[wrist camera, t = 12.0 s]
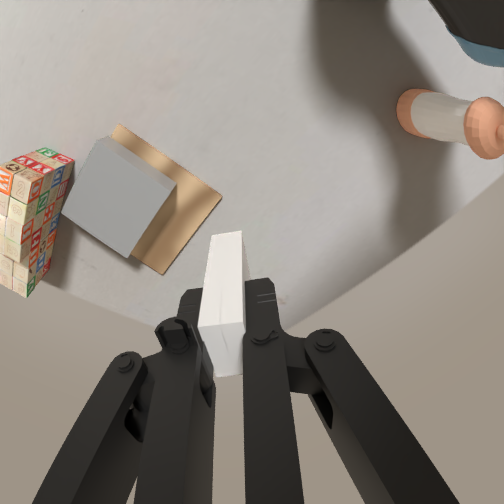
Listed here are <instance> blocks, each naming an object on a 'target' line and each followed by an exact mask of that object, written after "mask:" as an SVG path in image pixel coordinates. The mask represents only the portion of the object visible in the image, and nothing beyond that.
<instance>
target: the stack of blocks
mask: <svg viewBox="0 0 504 504" xmlns="http://www.w3.org/2000/svg"><path fill="white" fill-rule="evenodd" d="M73 164H74V160H73V159H71V158H68V157H66V156H64V155H62V154H59V153H56V152H54V151H52V150H50V149H47V148H42V149H39V150H36V151H35V152H31V153H29V154H26V155H24V156H20V157H18V158H15V159H12V160H11V161H9V162H6V163H4V164H2V165H0V283H1V284H2V285H4V286H6V287H7V288H9V289H11V290H13V291H15V292H16V293H18V294H20V295H22V296H24V297H26V298H27V297H28V296H29V294H30V293H31V292H32V291H33V289H34V288H35V286H36V285H37V283H38V282H39V281H40V280H41V279H42V277H43V276H44V275H45V274H46V272H47V271H48V270H49V267H50V260H51V256H52V251H53V245H54V240H55V235H56V230H57V224H58V219H59V215H60V210H61V206H62V202H63V198H64V195H65V192H66V188H67V184H68V181H69V177H70V174H71V171H72V168H73Z"/></svg>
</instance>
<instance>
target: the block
mask: <svg viewBox="0 0 504 504" xmlns="http://www.w3.org/2000/svg"><path fill="white" fill-rule="evenodd" d="M176 184H177V183H176V182H174V181H173V180H172V179H170V178H169V177H167V176H166V175H164V174H163V173H161V172H160V171H159V170H157V169H156V168H154V167H153V166H151V165H150V164H149V163H147V162H146V161H144V160H143V159H141V158H140V157H138V156H137V155H135V154H134V153H133V152H131V151H130V150H128V149H127V148H125V147H124V146H122V145H121V144H119V143H118V142H117V141H115V140H114V139H112V138H111V137H109V136H107V137H104V138H102V139H99V140H97V141H96V143H95V145H94V146H93V148H92V150H91V152H90V154H89V156H88V157H87V159H86V161H85V163H84V165H83V167H82V169H81V171H80V173H79V175H78V177H77V179H76V181H75V183H74V185H73V187H72V189H71V191H70V193H69V196H68V198H67V200H66V202H65V204H64V207H63V209H62V211H61V213H62V214H63V215H65V216H66V217H67V218H69V219H70V220H72V221H73V222H74V223H76V224H77V225H79V226H80V227H81V228H83V229H84V230H86V231H87V232H89V233H90V234H91V235H93V236H94V237H96V238H97V239H99V240H100V241H102V242H103V243H105V244H106V245H107V246H109V247H110V248H112V249H113V250H115V251H116V252H118V253H119V254H121V255H122V256H124V257H125V258H128V256H129V255H130V253H131V251H132V250H133V248H134V247H135V245H136V244H137V242H138V240H139V239H140V237H141V236H142V234H143V233H144V231H145V230H146V228H147V227H148V225H149V224H150V222H151V221H152V219H153V218H154V216H155V215H156V213H157V212H158V210H159V209H160V207H161V206H162V204H163V203H164V201H165V200H166V198H167V197H168V196H169V194H170V193H171V191H172V190H173V188H174V187H175V185H176Z"/></svg>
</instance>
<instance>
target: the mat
mask: <svg viewBox="0 0 504 504" xmlns="http://www.w3.org/2000/svg"><path fill="white" fill-rule="evenodd" d="M111 138H112V139H114V140H115V141H117V142H118V143H119V144H121V145H122V146H124V147H125V148H127V149H128V150H130V151H131V152H133V153H134V154H135V155H137V156H138V157H140V158H141V159H143V160H144V161H146V162H147V163H149V164H150V165H151V166H153V167H154V168H156V169H157V170H159V171H160V172H161V173H163V174H164V175H166V176H167V177H169V178H170V179H172V180H173V181H174V182H176V183H177V184H176V185H175V187H174V188H173V190H172V191H171V193H170V194H169V196H168V197H167V198H166V200H165V201H164V203H163V204H162V206H161V207H160V209H159V210H158V212H157V213H156V215H155V216H154V218H153V219H152V221H151V222H150V224H149V225H148V227H147V228H146V230H145V231H144V233H143V234H142V236H141V237H140V239H139V240H138V242H137V244H136V245H135V247H134V248H133V250H132V251H131V253H130V254H131V255H132V256H134V257H135V258H137V259H138V260H140V261H141V262H143V263H145V264H146V265H148V266H149V267H151V268H152V269H154V270H155V271H157V272H159V273H160V274H162V275H163V273H164V272H165V271H166V269H167V268H168V266H169V265H170V264H171V262H172V261H173V260H174V258H175V257H176V256H177V254H178V253H179V252H180V250H181V249H182V248H183V246H184V245H185V244H186V242H187V241H188V240H189V238H190V237H191V236H192V235H193V233H194V232H195V231H196V229H197V228H198V227H199V225H200V224H201V223H202V222H203V220H204V219H205V218H206V216H207V215H208V214H209V213H210V211H211V210H212V209H213V208H214V206H215V205H216V204H217V202H218V201H219V200H220V199H221V197H222V195H221V194H219V193H218V192H217V191H215V190H214V189H212V188H211V187H210V186H208V185H207V184H205V183H204V182H203V181H201V180H200V179H198V178H197V177H195V176H194V175H193V174H191V173H190V172H188V171H187V170H186V169H184V168H183V167H181V166H180V165H178V164H177V163H176V162H174V161H173V160H171V159H170V158H168V157H167V156H166V155H164V154H163V153H161V152H160V151H158V150H157V149H155V148H154V147H153V146H151V145H150V144H148V143H147V142H145V141H144V140H142V139H141V138H140V137H138V136H137V135H135V134H134V133H132V132H131V131H129V130H128V129H126V128H125V127H123V126H122V125H120V124H118V126H117V127H116V129H115V130H114V132H113V134H112V135H111Z"/></svg>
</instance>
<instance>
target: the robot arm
mask: <svg viewBox="0 0 504 504" xmlns="http://www.w3.org/2000/svg"><path fill="white" fill-rule="evenodd" d="M428 1H429V2H430V4H431V5H432V6H433V8H434V9H435V10H436V12H437V13H438V14H439V16H440V17H441V19H442V20H443V21H444V23H445V24H446V28H447V30H448V32H449V33H450V34H451V35H452V36H453V37H454V38H455V39H456V40H457V42H458V43H459V45H460V46H461V48H462V49H463V51H464V52H465V53H466V54H467V55H468V56H469V57H471V58H472V59H473V60H475V61H476V62H478V63H481V64H484V65H488V66H493V67H504V0H428ZM155 334H156V336H157V338H158V340H159V342H160V344H161V346H162V351H161V352H159V353H156V354H154V355H151V356H148V357H145V358H142V357H141V356H140V355H139V354H138V353H136V352H125V353H122V354H120V355H118V356H117V357H115V358H114V360H113V361H112V362H111V364H110V365H109V367H108V368H107V370H106V372H105V373H104V375H103V376H102V378H101V380H100V381H99V383H98V385H97V386H96V388H95V390H94V391H93V393H92V395H91V396H90V398H89V400H88V401H87V403H86V405H85V407H84V408H83V410H82V412H81V413H80V415H79V417H78V419H77V420H76V422H75V424H74V425H73V427H72V429H71V431H70V433H69V435H68V436H67V438H66V440H65V441H64V444H63V445H62V447H61V449H60V451H59V453H58V454H57V456H56V458H55V460H54V462H53V464H52V465H51V467H50V469H49V471H48V473H47V475H46V477H45V479H44V481H43V483H42V485H41V487H40V489H39V490H38V492H37V495H36V497H35V498H34V501H33V503H32V504H126V502H127V500H128V497H129V494H130V492H131V490H132V488H133V485H134V483H135V480H136V478H137V484H136V491H135V498H134V504H212V481H213V478H212V477H213V447H214V421H215V419H214V418H215V398H216V387H215V383H214V381H213V369H214V372H215V374H216V377H222V376H232V375H242V374H243V407H244V452H245V453H244V455H245V456H244V457H245V498H246V504H304V497H303V489H302V480H301V472H300V464H299V456H298V449H297V441H296V434H295V425H294V418H293V410H292V403H291V396H290V392H296V393H304V394H308V396H309V398H310V400H311V402H312V404H313V406H314V407H315V410H316V412H317V413H318V415H319V417H320V419H321V421H322V423H323V425H324V427H325V429H326V431H327V433H328V435H329V437H330V438H331V440H332V442H333V444H334V446H335V448H336V450H337V452H338V454H339V456H340V457H341V459H342V461H343V463H344V465H345V467H346V469H347V471H348V473H349V475H350V476H351V478H352V480H353V482H354V484H355V486H356V487H357V489H358V491H359V493H360V495H361V497H362V499H363V501H364V502H365V504H459V502H458V500H457V499H456V497H455V496H454V494H453V493H452V491H451V490H450V488H449V487H448V485H447V484H446V482H445V481H444V479H443V478H442V476H441V475H440V474H439V472H438V470H437V469H436V467H435V466H434V464H433V463H432V462H431V460H430V459H429V457H428V456H427V454H426V453H425V451H424V450H423V448H422V447H421V445H420V444H419V443H418V441H417V439H416V438H415V437H414V435H413V434H412V432H411V431H410V429H409V428H408V426H407V425H406V424H405V422H404V421H403V419H402V418H401V416H400V415H399V414H398V412H397V411H396V409H395V408H394V406H393V405H392V404H391V402H390V401H389V399H388V398H387V396H386V395H385V394H384V392H383V391H382V389H381V388H380V387H379V385H378V384H377V382H376V381H375V380H374V378H373V377H372V375H371V374H370V373H369V371H368V370H367V369H366V367H365V366H364V364H363V363H362V361H361V360H360V359H359V357H358V356H357V355H356V353H355V352H354V350H353V349H352V348H351V346H350V345H349V343H348V342H347V341H346V339H345V338H344V336H342V335H341V334H340V333H339V332H337V331H335V330H332V329H320V330H316V331H314V332H312V333H311V334H310V335H309V336H308V337H307V338H298V337H293V336H290V335H288V334H287V333H286V332H284V331H283V329H282V328H281V325H280V320H279V313H278V307H277V300H276V294H275V287H274V283H273V282H272V281H271V280H270V279H269V278H262V279H255V280H250V272H249V267H248V262H247V256H246V251H245V246H244V241H243V235H242V231H236V232H230V233H223V234H217V235H212V238H211V244H210V250H209V256H208V262H207V268H206V274H205V280H204V287H203V288H196V289H189V290H187V291H186V292H185V293H184V294H183V296H182V297H181V300H180V304H179V308H178V314H177V317H172V318H168V319H166V320H164V321H162V322H161V323H160V324H159V325H158V326H157V327H156V329H155ZM137 476H138V477H137Z"/></svg>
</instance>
